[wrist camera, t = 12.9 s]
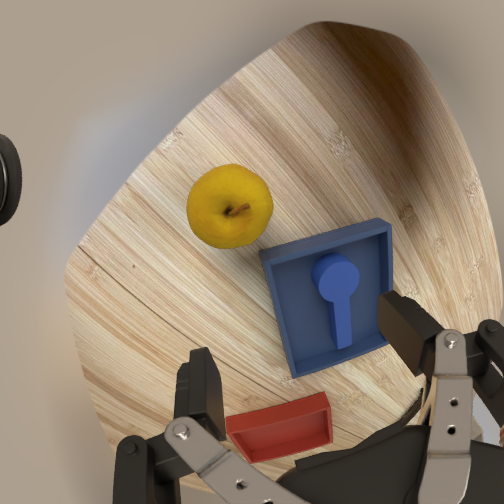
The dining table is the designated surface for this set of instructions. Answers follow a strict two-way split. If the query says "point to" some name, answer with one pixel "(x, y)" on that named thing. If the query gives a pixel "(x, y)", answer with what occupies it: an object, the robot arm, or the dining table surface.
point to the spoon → (337, 293)
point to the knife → (412, 411)
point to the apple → (229, 207)
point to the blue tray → (315, 306)
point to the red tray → (282, 429)
